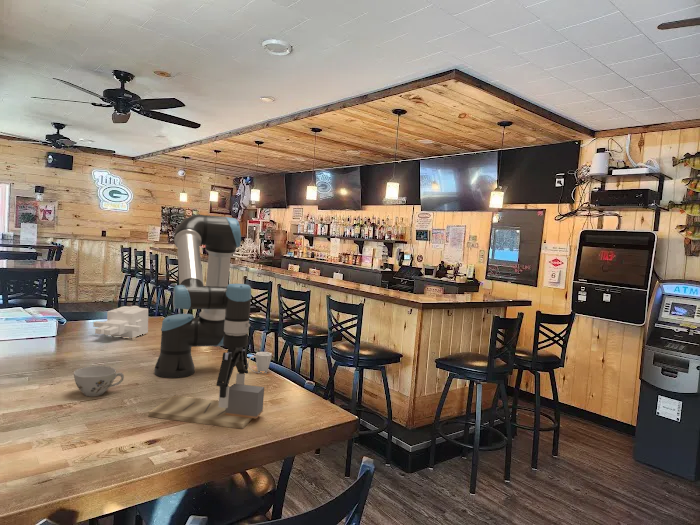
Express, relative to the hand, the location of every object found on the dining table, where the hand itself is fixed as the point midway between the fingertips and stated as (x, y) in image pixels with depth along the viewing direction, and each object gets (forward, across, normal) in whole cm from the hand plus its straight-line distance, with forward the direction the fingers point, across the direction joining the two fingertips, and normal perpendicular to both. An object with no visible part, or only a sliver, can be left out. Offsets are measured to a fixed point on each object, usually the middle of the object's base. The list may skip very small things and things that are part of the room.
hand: (231, 400), depth 146 cm
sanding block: (+4, 0, -4) cm, 6 cm away
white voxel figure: (+5, +82, +92) cm, 123 cm away
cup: (+5, +49, +7) cm, 50 cm away
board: (+5, 0, +8) cm, 10 cm away
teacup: (+5, +5, +49) cm, 50 cm away
